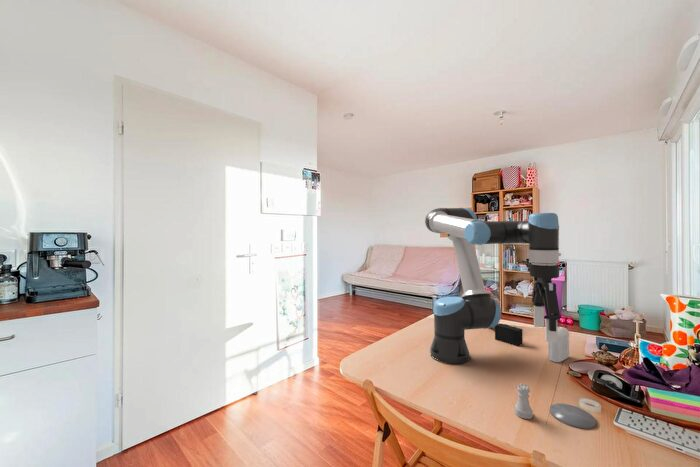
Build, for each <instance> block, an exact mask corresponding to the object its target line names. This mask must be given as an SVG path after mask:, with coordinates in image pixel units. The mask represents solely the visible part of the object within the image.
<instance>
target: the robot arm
mask: <svg viewBox="0 0 700 467" xmlns="http://www.w3.org/2000/svg"><path fill="white" fill-rule="evenodd" d="M424 224H425V227H426V228H427V229H428V231H430V232H432V233H435V234H447V239H449V240H450V241H452V245H453V250H454V253H455V254H454V255H455V259H456V263H457V268H458V272H459V276H460V281H461V286H462V291H463V293H462V295H461V296H444V297H440V298H438V299H436V300H435V301H434V306H433V323H434V324H433V325H434V326H433V327H434V331H433V332H434V334H433V335H434V336H433V338H432V341H431V345H430V348H429V349H430V350H429V351H430V352H429V353H431V355H432V356H433V357H434V358H436V359H438V360H440V361H442V362H441V363H444V362H446V363H445V364H449V363H450V364H452V365H459V364H465V363H468V361H469V360H470V351H469V348H468V344H467V342H466V339H465V331H467V330H479V329H480V330H481V329H489V328H493V327H495V326H496V325H497V324H499V323H500V321H501V318H502V310H501V305H500V304H499V302H498V301H497V300H496V299H495V298H492V295H491V293H490V292H489V291H488V290H487V289H485V283H484V280H483V276H482V272H481V266H480V264H479V260H478V256H477V252H476V248H475V245H478V246H479V245H496V244H500V245H501V244H503V245H505V244H528V245H529V246H528V262H530V263H531V264H529V276H530V277H532V278H533V288H532V296H531V302H532V305H533V326H534V328H545V341H546V343H548V342H556V343H558V327H559V326H558V325H559V324H558V320H561V313H560V308H559V306H560V305H559V301H558V300H559V299H558V294H557V284H556V283H555V282H554V283H553V281H552V279H558V278H559V277H560V266H559V265H558V264H559V262H560V260H559V259H560V257H561V256H562V253H560V250H559V249H560V248H559V245H560V242H559V240H560V239H559V236H560V224H559V216H558V214H557V213H555V212H538V213H537V212H536V213H535V212H534V213H530V214H529V215H528V220H502V221H501V220H498V221H490V220H489V221H487V220H482V219H478V217H477V214H476V213H475V212H474V210H472V209H470V208H467V207H449V208H447V207H438V208H434V209H431V210H430V211H429V212H428V213H427V214H426V217H425V219H424ZM431 355H430V356H431ZM432 356H431V357H432ZM433 357H432V358H433ZM434 358H433V359H434ZM436 359H435V360H436ZM438 360H437V361H438ZM440 361H439V362H440Z"/></svg>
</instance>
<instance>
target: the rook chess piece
mask: <svg viewBox="0 0 700 467" xmlns="http://www.w3.org/2000/svg"><path fill="white" fill-rule="evenodd" d="M516 390H517V395H518V396H517V397H518V399H517V403H516V404H515V405H514V412H515V415H516V416H518V418H521V419H524V420H530V419H532V418H533V417H534V415H533V409H532V406H531V405H530V400H529V398H530V395H529V393H531V390H530V388H529V385H527V384H523V383H519V384H517V386H516Z"/></svg>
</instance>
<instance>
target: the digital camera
mask: <svg viewBox="0 0 700 467" xmlns="http://www.w3.org/2000/svg"><path fill="white" fill-rule="evenodd" d="M523 334H524V333H523V329H522V328H519V327H515V326H512V325H509V324H506V323H505V324H503V323H500V322H499V323H498V324H497V325H496V326H495V330H494V340H495V341H498V342H501V343H506V344H508V345H512V346H515V347H520V346H522V345H523Z"/></svg>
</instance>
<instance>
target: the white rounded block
mask: <svg viewBox="0 0 700 467" xmlns="http://www.w3.org/2000/svg"><path fill="white" fill-rule="evenodd" d="M547 343H548V345H547V346H548V353H547V354H548V359H549V361H551V362H554V363H562V362H563V361H565V360H567V359H568V358H569V357H570V334H569V330H568V329H567V328H565V327H564V326H558V343H556V342H547Z"/></svg>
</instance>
